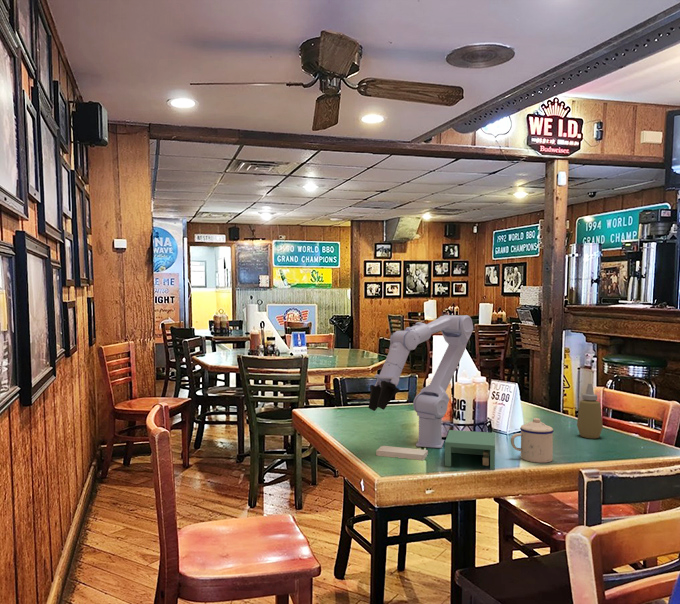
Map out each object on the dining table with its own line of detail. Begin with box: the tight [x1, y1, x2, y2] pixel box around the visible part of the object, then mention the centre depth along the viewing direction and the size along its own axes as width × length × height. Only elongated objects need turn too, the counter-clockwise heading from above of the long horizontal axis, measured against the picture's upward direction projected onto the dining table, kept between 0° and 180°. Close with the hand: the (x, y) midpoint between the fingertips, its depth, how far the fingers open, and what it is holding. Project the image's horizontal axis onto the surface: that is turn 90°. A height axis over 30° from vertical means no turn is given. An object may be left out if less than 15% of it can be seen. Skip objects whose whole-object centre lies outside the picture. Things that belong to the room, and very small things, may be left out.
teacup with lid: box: [510, 417, 554, 464], centre depth 159 cm, size 12×9×12 cm
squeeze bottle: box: [576, 383, 604, 439], centre depth 187 cm, size 8×8×18 cm
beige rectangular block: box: [375, 445, 429, 461], centre depth 162 cm, size 6×14×2 cm, turn 69°
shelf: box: [444, 429, 496, 471], centre depth 157 cm, size 16×13×6 cm
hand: (376, 408), depth 160 cm, fingers open, 7 cm apart
